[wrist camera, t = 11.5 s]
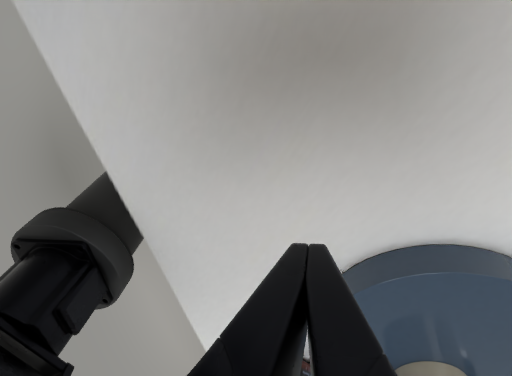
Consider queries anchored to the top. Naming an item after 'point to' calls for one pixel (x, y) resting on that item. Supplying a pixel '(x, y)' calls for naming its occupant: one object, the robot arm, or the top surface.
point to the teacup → (428, 369)
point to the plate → (439, 306)
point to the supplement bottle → (305, 369)
